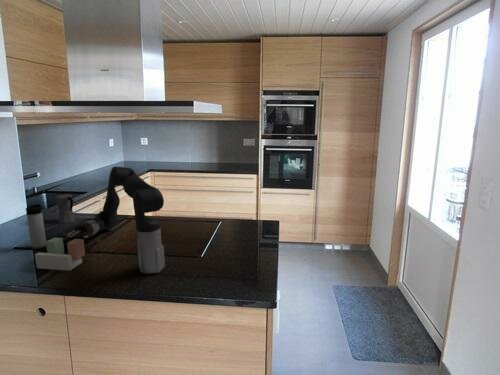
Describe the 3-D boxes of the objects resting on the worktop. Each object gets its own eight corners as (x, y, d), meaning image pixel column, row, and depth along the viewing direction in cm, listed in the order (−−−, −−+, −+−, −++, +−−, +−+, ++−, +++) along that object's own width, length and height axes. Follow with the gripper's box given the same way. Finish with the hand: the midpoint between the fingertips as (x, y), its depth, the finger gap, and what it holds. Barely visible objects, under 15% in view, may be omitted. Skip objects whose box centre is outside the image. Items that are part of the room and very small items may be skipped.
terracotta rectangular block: (85, 254, 148) (83, 239, 146) (77, 259, 143) (75, 243, 142) (76, 254, 149) (74, 238, 147) (69, 258, 144) (67, 243, 142)
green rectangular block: (64, 253, 150) (62, 238, 148) (56, 257, 145) (54, 242, 143) (56, 252, 150) (54, 237, 149) (48, 257, 145) (45, 241, 144)
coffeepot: (53, 221, 202) (49, 191, 198) (69, 217, 209) (65, 188, 205) (66, 225, 193) (62, 194, 189) (82, 221, 201) (79, 191, 197)
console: (82, 262, 145) (80, 249, 144) (69, 270, 138) (67, 256, 136) (51, 260, 148) (49, 247, 147) (36, 268, 140) (34, 254, 139)
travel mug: (49, 243, 167) (44, 204, 162) (42, 248, 160) (36, 207, 156) (36, 243, 166) (30, 204, 162) (28, 249, 160) (22, 208, 156)
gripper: (74, 221, 168) (48, 233, 151) (98, 222, 166) (74, 235, 149) (75, 236, 169) (50, 249, 153) (100, 237, 167) (76, 251, 151)
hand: (62, 242), depth 151 cm, fingers closed
